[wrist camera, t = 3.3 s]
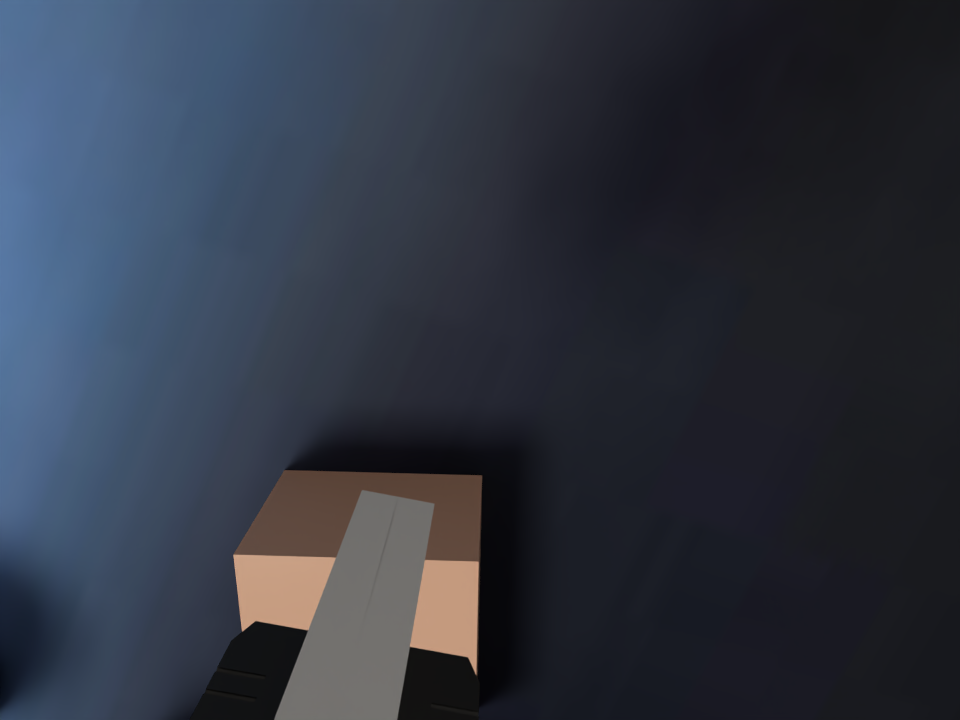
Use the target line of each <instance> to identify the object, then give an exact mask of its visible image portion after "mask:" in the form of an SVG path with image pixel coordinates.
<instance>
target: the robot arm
mask: <svg viewBox="0 0 960 720" xmlns="http://www.w3.org/2000/svg"><path fill="white" fill-rule="evenodd" d="M433 510H434V503H429V502H423V501H418V500H413V499H407V498H402V497H397V496H391V495H386V494H381V493H376V492H370V491H365V490H362V491H361V494H360V496H359V499H358V502H357V504H356V507H355V510H354V512H353V515H352V517H351V520H350V523H349V525H348V528H347V530H346V533H345V536H344V538H343V541H342V543H341V546H340V549H339V551H338V554H337V557H336V559H335V562H334V564H333V567H332V570H331V572H330V575H329V577H328V580H327V583H326V585H325V588H324V591H323V593H322V596H321V598H320V601H319V604H318V606H317V609H316V611H315V614H314V617H313V619H312V622H311V624H310V627H309V630H303V629H297V628H292V627H286V626H281V625H275V624H270V623H264V622H259V621H255V622H254V623H252V624H251V625H250V626H249V627H248V628H246V629H245V630H244V631H243V632H241V633H240V634H239V635H238V636H237V637H235V638H234V639H233V640H232V641H231V642H230V644H229V646H228V648H227V650H226V652H225V654H224V656H223V658H222V659H221V661H220V663H219V665H218V668H217V671H216V672H215V673H214V675H213V677H212V678H211V680H210V682H209V684H208V686H207V688H206V692H205V694H203V696H202V697H201V699H200V701H199V703H198V705H197V707H196V709H195V711H194V713H193V715H192V716H191V718H190V720H478V719H479V716H478V712H479V691H480V683H479V680H478V678H477V676H476V674H475V671H474V669H473V667H472V665H471V662H470V660H469V658H468V657H464V656H458V655H453V654H447V653H442V652H436V651H431V650H425V649H420V648H414V647H410V643H411V637H412V631H413V625H414V620H415V614H416V608H417V602H418V597H419V591H420V585H421V579H422V574H423V568H424V562H425V556H426V551H427V545H428V539H429V533H430V527H431V522H432V516H433Z"/></svg>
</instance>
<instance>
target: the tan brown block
mask: <svg viewBox="0 0 960 720" xmlns="http://www.w3.org/2000/svg"><path fill="white" fill-rule="evenodd" d="M362 490H365V491H370V492H376V493H381V494H386V495H391V496H397V497H402V498H407V499H413V500H418V501H423V502H429V503H434V510H433V516H432V522H431V527H430V533H429V539H428V545H427V551H426V556H425V562H424V568H423V574H422V579H421V585H420V591H419V597H418V602H417V608H416V614H415V620H414V625H413V631H412V637H411V643H410V647H414V648H420V649H425V650H431V651H436V652H442V653H447V654H453V655H458V656H464V657H468V658H469V660H470V662H471V665H472V667H473V669H474V671H475V674H476V676H477V678H478V641H479V595H480V549H481V502H482V475H448V474H410V473H372V472H334V471H296V470H284V472H283V474H282V475H281V477H280V479H279V480H278V482H277V483H276V485H275V487H274V488H273V490H272V492H271V493H270V495H269V497H268V498H267V500H266V502H265V503H264V505H263V507H262V508H261V510H260V512H259V513H258V515H257V517H256V518H255V520H254V522H253V523H252V525H251V526H250V528H249V530H248V531H247V533H246V535H245V536H244V538H243V540H242V541H241V543H240V545H239V546H238V548H237V550H236V551H235V553H234V564H235V572H236V581H237V590H238V599H239V608H240V616H241V625H242V632H243V631H244V630H245V629H246V628H248V627H249V626H250V625H251V624H252V623H254V622H255V621H259V622H264V623H270V624H275V625H281V626H286V627H292V628H297V629H303V630H309V627H310V624H311V622H312V619H313V617H314V614H315V611H316V609H317V606H318V604H319V601H320V598H321V596H322V593H323V591H324V588H325V585H326V583H327V580H328V577H329V575H330V572H331V570H332V567H333V564H334V562H335V559H336V557H337V554H338V551H339V549H340V546H341V543H342V541H343V538H344V536H345V533H346V530H347V528H348V525H349V523H350V520H351V517H352V515H353V512H354V510H355V507H356V504H357V502H358V499H359V496H360V494H361V491H362Z"/></svg>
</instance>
